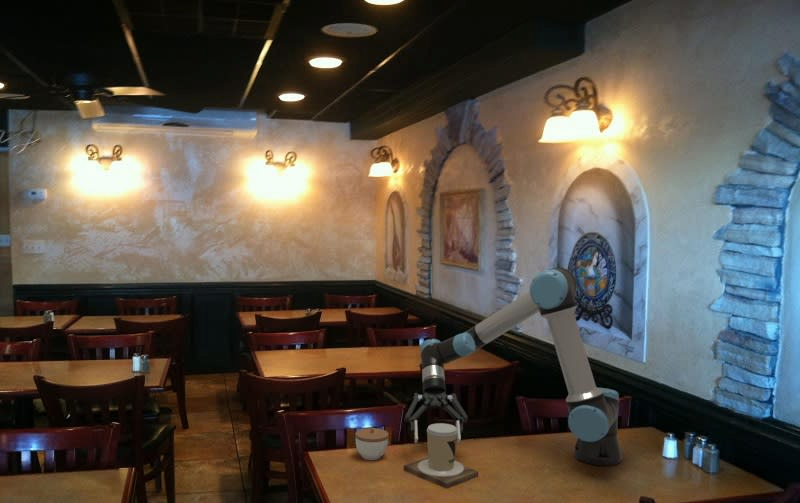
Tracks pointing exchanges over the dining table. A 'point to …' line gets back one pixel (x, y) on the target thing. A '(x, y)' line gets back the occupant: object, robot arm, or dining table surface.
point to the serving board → (441, 473)
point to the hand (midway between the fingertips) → (437, 441)
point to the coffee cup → (441, 446)
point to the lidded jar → (371, 443)
